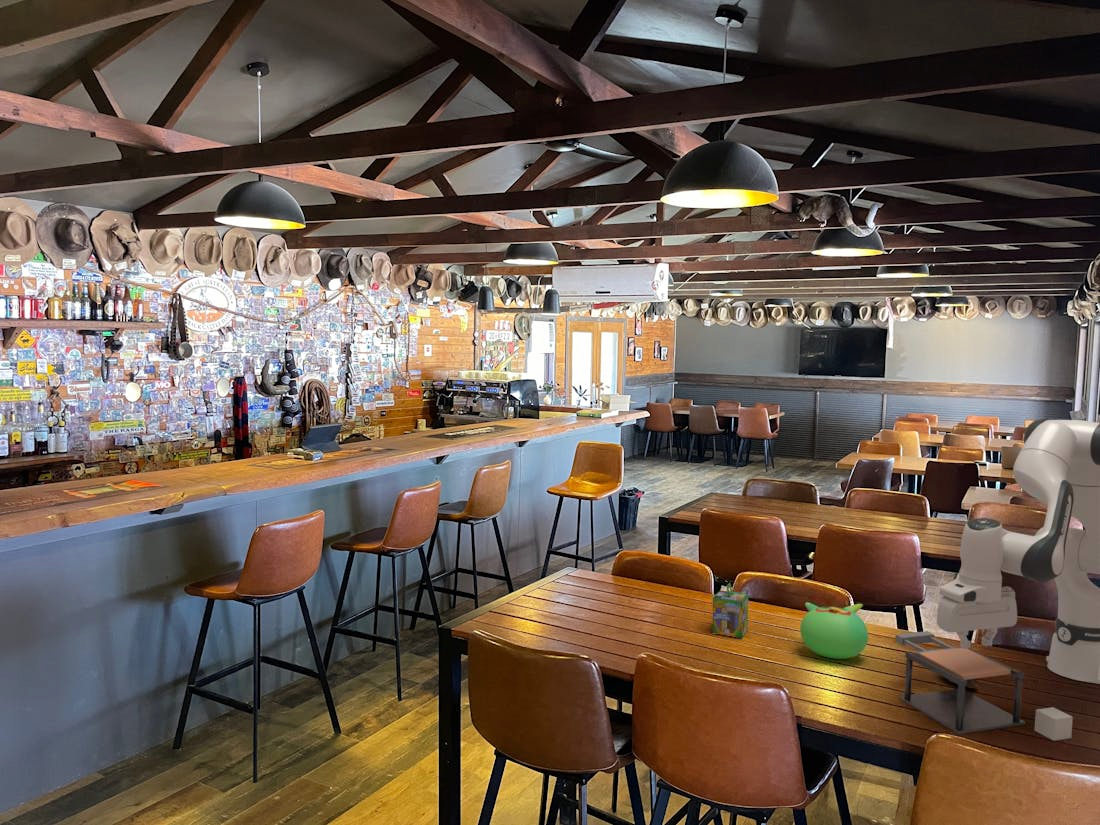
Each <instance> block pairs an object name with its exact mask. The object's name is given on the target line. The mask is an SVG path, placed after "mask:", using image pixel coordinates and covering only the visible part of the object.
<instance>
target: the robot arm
mask: <svg viewBox="0 0 1100 825" xmlns="http://www.w3.org/2000/svg"><path fill="white" fill-rule="evenodd" d="M1012 476H1013V478H1014V480H1015V482H1016V484H1017V485H1018V486H1019V488H1020V489H1021V490H1022V491H1023V492H1025V493H1027V494H1028V495H1029V496H1031V497H1032V498H1035V499H1037V500H1039V501H1041V503H1044V504H1046V506H1047V509H1046V515H1045V519H1044V523H1043V527H1041V528H1039V529H1038V531H1036V533H1035V534H1034V535H1030V534H1023V533H1019V532H1014V531H1010V530H1008V529H1005V528H1003V525H1002V523H1001V522H1000V521H999V520H996V519H993V518H988V517H987V518H986V517H982V518H981V517H980V518H979V517H977V518H973V519H970V520H968V521H967V522H966V523H965V525H964V528H963V530H962V536H961V540H960V541H961V542H960V548H959V549H960V550H959V551H960V553H959V558H960V561H961V565H960V568H959V570H958V571H959V572H958V577H957V578H955V579H953V580H951V581H950V582H947V583H945V584H943V585H941V586H940V587H939V594H940V595H941V596H942V597H941V598H940V599H939V602H938V604H937V613H936V614H937V615H936V623H937V626H938V628H940V630H943V631H944V632H947V633H949V634H950V633H951V634H952V633H956V635H957V637H958V639H959V640H960V641H959V647H961V648H963V649H969V648H970V649H972V641H971V640H969V639H968V637H967V636H969V632H972V631H980V630H981V631H982V630H986V632H985V634H984V636H981V645H982V646H983V647H986V648H987V647H992V646H993V640H994V638H996V635H997V634H998V629H1001V628H1009V627H1010V628H1011V627H1015V625H1016V624H1017V622H1018V608H1017V600H1016V592H1015V590H1014V589H1013V588H1012V587H1011V586H1003V587H1002V584H1003V583H1002V582H1003V576H1002V572H1004V573H1008V574H1012V575H1015V576H1016V575H1017V576H1021V577H1024V578H1026V579H1029V580H1032V581H1035V582H1038V583H1041V584H1044V583H1046V582H1050V581H1052V580H1054V581H1055V584H1056V589H1057V595H1058V596H1057V597H1058V600H1057V604H1058V606H1057V616H1056V617H1055V621H1054V630H1055V632H1054V633H1053V635H1052V639H1051V644H1050V648H1049V649H1050V650H1049V655H1047V656H1046V658H1045V660H1046V662H1047V665H1046V666H1047V668H1048V669H1049V671H1051V672H1053V673H1054V674H1057V675H1059V676H1061V677H1065V678H1068V679H1071V680H1075V681H1080V682H1083V683H1085V682H1086V683H1092V684H1097V685H1100V587H1098V586H1097V585H1096V584H1094V583H1093V582H1092V581H1091V580H1090V578H1089V577H1088V575H1087V573H1091V574H1096V575H1100V422H1095V421H1090V420H1083V419H1050V418H1041V419H1035V420H1033V421H1032V422H1031V423H1030V424H1029V425H1028V426H1027V427H1026V429H1025V431H1024V435H1023V446H1022V447H1021V449H1020V451H1019V453H1018V455H1017V457H1016V460H1015V461H1014V464H1013V468H1012ZM1072 518H1074V519H1075V520H1077V521H1078V522H1079V523H1081V525H1082V526H1083V528H1084V529H1079V528H1074V527H1070V525H1071V524H1070V523H1071V519H1072ZM1001 571H1002V572H1001Z"/></svg>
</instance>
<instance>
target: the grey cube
mask: <svg viewBox="0 0 1100 825" xmlns="http://www.w3.org/2000/svg"><path fill="white" fill-rule="evenodd" d="M1034 716H1035V718H1034V732H1036V733H1038V734H1040V735H1043V736H1044V737H1046V738H1048V739H1050V740H1051V741H1054V742H1055V741H1060V740H1061V741H1063V740H1067V739H1072V734H1073V732H1072V731H1073V718H1074V717H1073V716H1072V715H1070V714H1068V713H1065V712H1063V711H1062V710H1060V709H1058V708H1056V707H1054V706H1052V707H1044V708H1038V709H1035V715H1034Z"/></svg>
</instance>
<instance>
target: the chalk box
mask: <svg viewBox="0 0 1100 825" xmlns="http://www.w3.org/2000/svg"><path fill="white" fill-rule="evenodd" d="M749 598H750V597H749V594H748V593H741V592H738V591H733V588H732V584H731V582H729V583H727V585H726V590H721V589H720V590H719V591H718V592H717V593H716V594H715V595H714V596H713V597H712V632H711V633H716V634H722V635H726V636H725V637H729V636H732V637H731V638H735V637H736V639H741V638H742V639H743V638H744V636H745V635H744V634H746V633H747V632H748V627H749V624H748V623H749V600H750V599H749ZM722 635H721V636H722Z"/></svg>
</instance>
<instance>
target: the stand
mask: <svg viewBox="0 0 1100 825" xmlns="http://www.w3.org/2000/svg"><path fill="white" fill-rule="evenodd" d="M969 650H971V651H973V652H975V653H977V654H979V655H981V656H983V657H985V658H987V659H989V660H991V661H993V662H995V663H998V664H1000V665H1002V666H1004V667H1006V668H1008V669H1010V670H1011V674H1009V675H1010V676H1012V677H1014V679H1015V680H1014V692H1013V694H1014V695H1013V696H1014V697H1013V709H1012V710H1013V711H1012V714H1011V713H1009V712H1007V711H1006V710H1004V709H1001V708H1000V707H998V706H996V705H994V704H993V703H990V702H988V701H987V700H984V699H983V698H981V697H979V696H977V695H976V694H973V693H971V692H969V691H968V690H966V686H967V680H965V679H963V678H961V677H959V676H957V675H955V674H953V673H951V672H949V671H947V670H945V669H943V668H941V667H940V666H938V665H936V664H934V663H932V662H930V661H928V660H926V659H924V658H922V657H920V656H918V655H916V654H915V652H911V651H906V652H905V660H906V662H905V680H904V681H905V682H904V695H899V700H901V701H902V702H905V704H907V705H909V706H911V707H913V708H914V709H916V710H917V711H919V712H921V713H923V714H924V715H926V716H928V717H929V718H932V719H933V720H935V721H936V722H938V723H939V724H941V725H943V726H945V728H946V727H947V728H948V729H949V730H951V731H953V732H955V734H956V733H957V734H958V735H961V734H962V735H964V734H969V733H974V732H982V731H988V730H996V729H997V730H998V729H1003V728H1010V727H1017V726H1023V725H1026V721H1025V720H1023V719H1021V706H1022V705H1021V704H1022V691H1023V690H1022V689H1023V679H1025V673H1024V672H1022V671H1020V670H1018V669H1016V668H1014V667H1012V666H1009V665H1007V664H1005V663H1002V662H1000V661H999V660H996V659H994V658H992V657H990V656H987V655H986V654H983V653H981V652H978V650H977V651H976V650H974V649H972V648H969ZM913 663H917V664H918V665H920V666H921V667H924V668H926V669H928V670H929V671H932V672H933V673H935V674H937V675H939V676H941V677H943V678H945V679H947V680H948V681H949V680H951V681H952V682H951V683H955V684H956V685H957V688H953V689H947V690H945V689H944V690H939V691H930V692H929V691H928V692H923V693H915V694H912V679H913V678H912V677H913Z"/></svg>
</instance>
